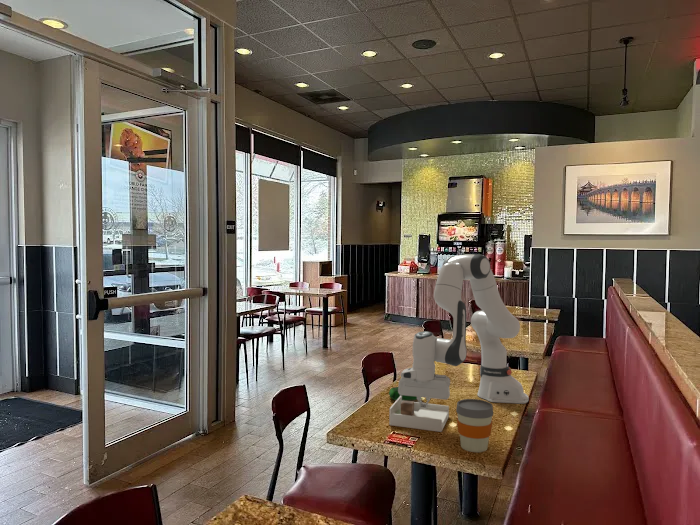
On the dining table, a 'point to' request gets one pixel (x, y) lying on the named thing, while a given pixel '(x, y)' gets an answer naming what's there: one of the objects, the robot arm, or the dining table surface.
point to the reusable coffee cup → (474, 424)
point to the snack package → (396, 395)
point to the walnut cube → (407, 408)
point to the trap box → (419, 416)
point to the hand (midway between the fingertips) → (423, 407)
